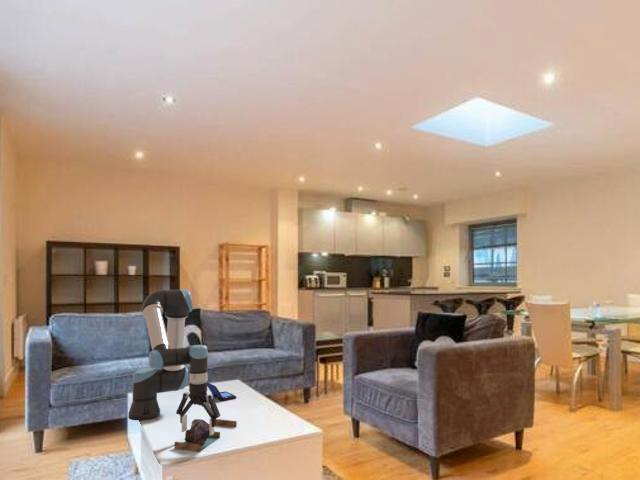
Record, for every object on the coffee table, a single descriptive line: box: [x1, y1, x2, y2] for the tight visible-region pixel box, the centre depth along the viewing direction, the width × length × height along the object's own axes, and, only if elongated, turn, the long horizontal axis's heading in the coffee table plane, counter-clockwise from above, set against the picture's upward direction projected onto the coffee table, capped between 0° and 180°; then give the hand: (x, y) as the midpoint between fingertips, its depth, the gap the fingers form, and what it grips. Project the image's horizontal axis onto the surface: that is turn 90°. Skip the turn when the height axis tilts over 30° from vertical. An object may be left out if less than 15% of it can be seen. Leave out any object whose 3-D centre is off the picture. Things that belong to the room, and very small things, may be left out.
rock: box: [183, 418, 209, 446], centre depth 191 cm, size 12×9×10 cm
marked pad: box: [183, 437, 219, 451], centre depth 191 cm, size 12×13×1 cm
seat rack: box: [174, 418, 238, 453], centre depth 199 cm, size 12×31×2 cm, turn 162°
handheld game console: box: [206, 381, 237, 402], centre depth 261 cm, size 16×13×9 cm
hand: (197, 432), depth 192 cm, fingers open, 13 cm apart
